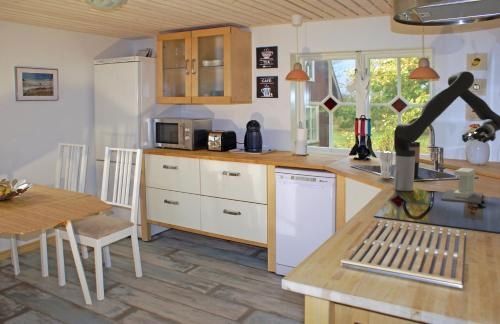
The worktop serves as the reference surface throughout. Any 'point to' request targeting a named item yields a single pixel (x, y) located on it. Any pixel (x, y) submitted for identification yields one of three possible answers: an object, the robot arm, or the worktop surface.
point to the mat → (472, 199)
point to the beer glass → (386, 164)
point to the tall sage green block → (465, 182)
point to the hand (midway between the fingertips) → (474, 140)
